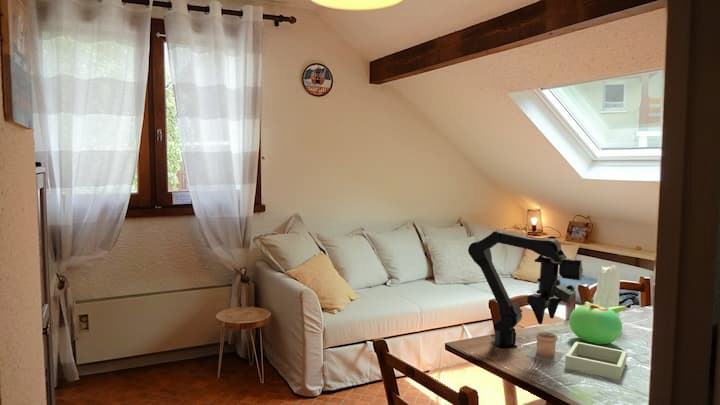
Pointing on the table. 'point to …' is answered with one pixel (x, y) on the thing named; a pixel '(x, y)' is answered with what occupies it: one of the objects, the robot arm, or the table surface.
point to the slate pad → (534, 355)
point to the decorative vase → (608, 287)
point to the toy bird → (596, 323)
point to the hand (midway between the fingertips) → (545, 320)
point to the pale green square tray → (596, 360)
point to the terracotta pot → (546, 344)
